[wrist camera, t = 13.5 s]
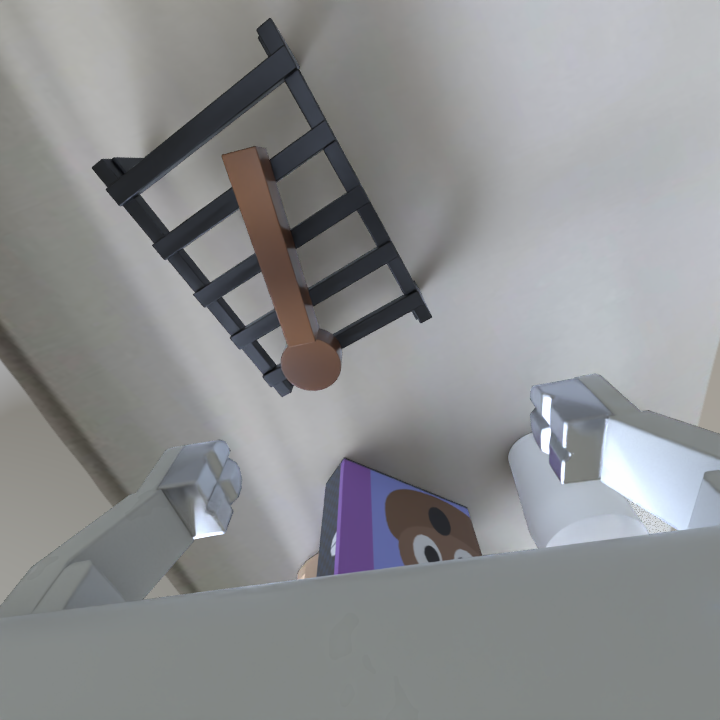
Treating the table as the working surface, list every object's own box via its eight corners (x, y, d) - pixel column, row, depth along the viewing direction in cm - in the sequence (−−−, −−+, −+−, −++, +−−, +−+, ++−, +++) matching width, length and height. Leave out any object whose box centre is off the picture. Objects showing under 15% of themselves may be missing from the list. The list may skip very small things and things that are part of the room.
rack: (144, 166, 29) (86, 167, 23) (290, 49, 26) (268, 13, 19) (294, 361, 37) (281, 400, 31) (420, 291, 34) (433, 319, 28)
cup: (496, 428, 41) (543, 520, 30) (581, 414, 40) (660, 505, 29) (498, 486, 45) (540, 585, 34) (575, 475, 44) (642, 573, 34)
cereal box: (466, 507, 47) (555, 792, 26) (445, 529, 49) (511, 811, 28) (344, 457, 43) (329, 744, 22) (326, 483, 45) (296, 771, 24)
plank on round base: (216, 160, 23) (200, 160, 20) (285, 142, 22) (276, 140, 20) (295, 382, 30) (289, 400, 28) (348, 371, 30) (347, 389, 27)
